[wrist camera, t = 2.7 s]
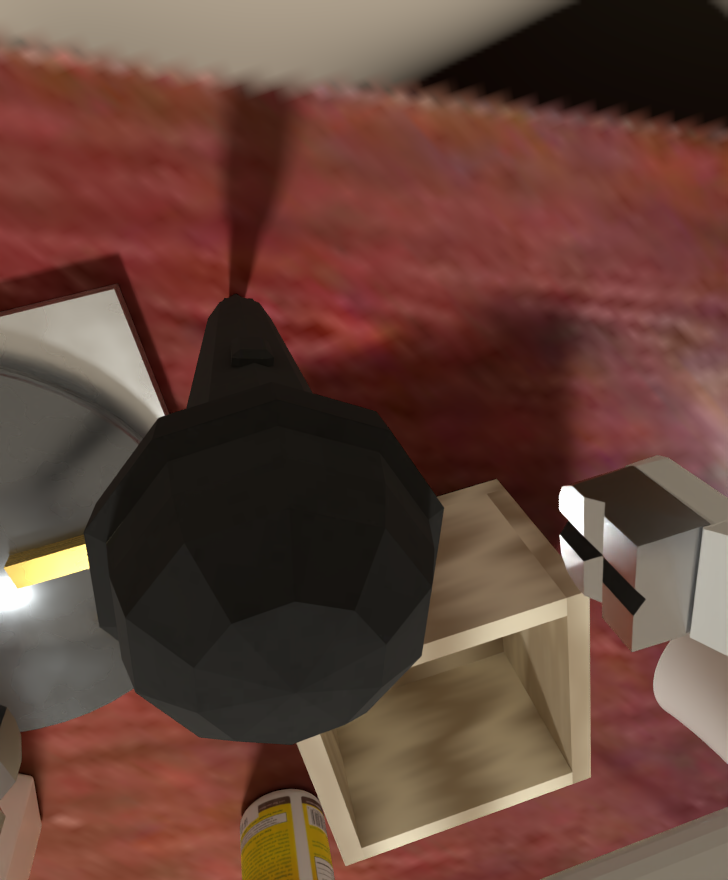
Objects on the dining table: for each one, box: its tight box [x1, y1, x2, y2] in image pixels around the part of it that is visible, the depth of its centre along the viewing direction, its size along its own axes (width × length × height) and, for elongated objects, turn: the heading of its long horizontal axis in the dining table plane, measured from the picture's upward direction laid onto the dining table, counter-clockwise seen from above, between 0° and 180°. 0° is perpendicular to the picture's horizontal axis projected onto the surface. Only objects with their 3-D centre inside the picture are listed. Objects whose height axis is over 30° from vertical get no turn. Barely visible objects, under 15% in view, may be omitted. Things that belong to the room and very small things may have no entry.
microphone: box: [84, 294, 444, 745], centre depth 16 cm, size 6×6×20 cm
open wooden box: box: [297, 479, 591, 866], centre depth 30 cm, size 13×13×9 cm
